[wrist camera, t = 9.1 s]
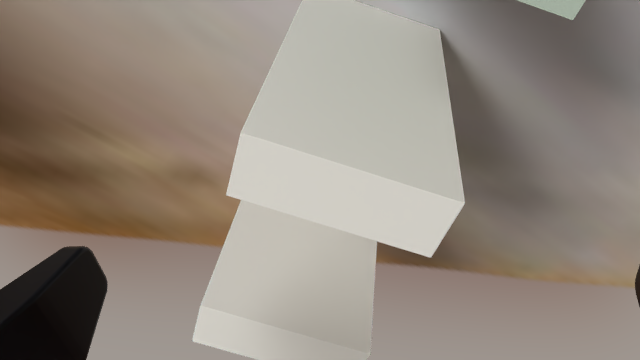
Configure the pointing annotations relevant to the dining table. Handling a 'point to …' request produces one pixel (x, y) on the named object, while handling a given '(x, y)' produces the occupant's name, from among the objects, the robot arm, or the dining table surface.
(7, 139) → the dining table surface
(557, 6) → the domino
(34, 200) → the dining table surface
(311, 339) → the domino
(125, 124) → the dining table surface
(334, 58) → the domino
